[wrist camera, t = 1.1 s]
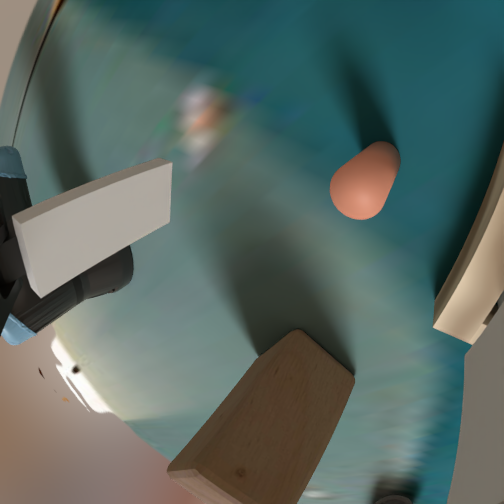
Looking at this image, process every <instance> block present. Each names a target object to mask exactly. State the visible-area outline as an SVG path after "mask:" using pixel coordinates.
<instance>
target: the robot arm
mask: <svg viewBox="0 0 504 504" xmlns="http://www.w3.org/2000/svg"><path fill="white" fill-rule="evenodd" d="M26 179H27V175H26V174H25V172H24V169H23V165H22V161H21V157H20V154H19V152H18V150H17V149H16V148H14V147H12V146H2V147H0V336H1V335H2V337H3V338H4V339H5V340H6V341H7V342H8V343H9V344H11V345H18V344H21V343H22V342H24V341H26V340H28V339H29V338H31V337H33V336H36V335H37V333H38V332H39V331H41V330H42V329H44V328H45V327H46V326H48V325H49V324H51V323H52V322H53V321H55V320H56V319H58V318H59V317H61V316H62V315H63V314H65V313H66V312H68V311H69V310H71V309H72V308H73V307H75V306H76V305H78V304H79V303H81V302H82V301H84V300H86V299H89V298H93V297H97V296H101V295H104V294H107V293H113V292H116V291H118V290H120V289H122V288H123V287H124V286H126V285H127V284H129V282H130V281H131V279H132V275H133V261H132V255H131V251H130V248H129V245H130V244H131V243H133V242H135V241H137V240H138V239H140V238H142V237H144V236H146V235H147V234H149V233H151V232H153V231H155V230H156V229H158V228H160V227H162V226H164V225H165V224H167V223H169V222H170V202H171V179H172V162H170V161H167V160H164V159H161V158H157V159H154V160H151V161H148V162H145V163H142V164H139V165H136V166H133V167H130V168H127V169H124V170H121V171H118V172H116V173H113V174H110V175H107V176H105V177H102V178H99V179H97V180H94V181H91V182H89V183H86V184H84V185H81V186H79V187H76V188H74V189H71V190H69V191H66V192H64V193H61V194H59V195H57V196H54V197H52V198H50V199H47V200H45V201H43V202H41V203H38V204H36V205H34V206H32V203H31V199H30V195H29V191H28V186H27V182H26ZM447 504H504V301H503V303H502V305H501V306H500V308H499V309H498V311H497V312H496V314H495V315H494V317H493V318H492V320H491V321H490V322H489V324H488V325H487V327H486V328H485V329H484V331H483V332H482V334H481V335H480V336H479V338H478V339H477V340H476V342H475V343H474V344H473V346H472V347H471V348H470V350H469V351H468V352H467V353H466V355H465V372H464V394H463V407H462V418H461V427H460V435H459V443H458V450H457V456H456V462H455V467H454V473H453V478H452V483H451V487H450V492H449V496H448V500H447Z"/></svg>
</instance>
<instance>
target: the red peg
mask: <svg viewBox="0 0 504 504" xmlns="http://www.w3.org/2000/svg"><path fill="white" fill-rule="evenodd" d="M400 163H401V159H400V155H399V152H398V150H397V149H396V148H395V147H394V146H393V145H392V144H390V143H388V142H385V141H378V142H374V143H372V144H371V145H370V146H368V147H367V148H366V149H364V150H363V151H362V152H360V153H359V154H358V155H356V156H355V157H354V158H352V159H351V160H350V161H349V162H347V163H346V164H345V165H343V166H342V167H341V168H339V169H338V170H337V171H336V172H335V174H334V175H333V177H332V180H331V183H330V194H331V198H332V201H333V203H334V204H335V206H336V207H337V209H338V210H339V211H340V212H342V213H343V214H344V215H346V216H348V217H350V218H353V219H360V220H361V219H368V218H371V217H373V216H374V215H376V214H377V213H378V212H379V211H380V210H381V209H382V207H383V205H384V203H385V201H386V198H387V196H388V194H389V191H390V189H391V187H392V184H393V182H394V180H395V177H396V175H397V172H398V170H399V167H400Z"/></svg>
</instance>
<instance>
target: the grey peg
mask: <svg viewBox="0 0 504 504" xmlns="http://www.w3.org/2000/svg"><path fill="white" fill-rule="evenodd" d="M503 301H504V290H503V292H502V294H501V295H500V297H499V299H498V300H497V303H498V308H500V306H501V305H502V303H503Z"/></svg>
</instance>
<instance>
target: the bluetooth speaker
mask: <svg viewBox="0 0 504 504" xmlns="http://www.w3.org/2000/svg"><path fill="white" fill-rule="evenodd" d="M375 504H413V503H412V502H411V500H409V499H408V498H407V497H404V496H400V495H389V496H386V497H383V498H381V499H380V500H378V501H377V502H376V503H375Z"/></svg>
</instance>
